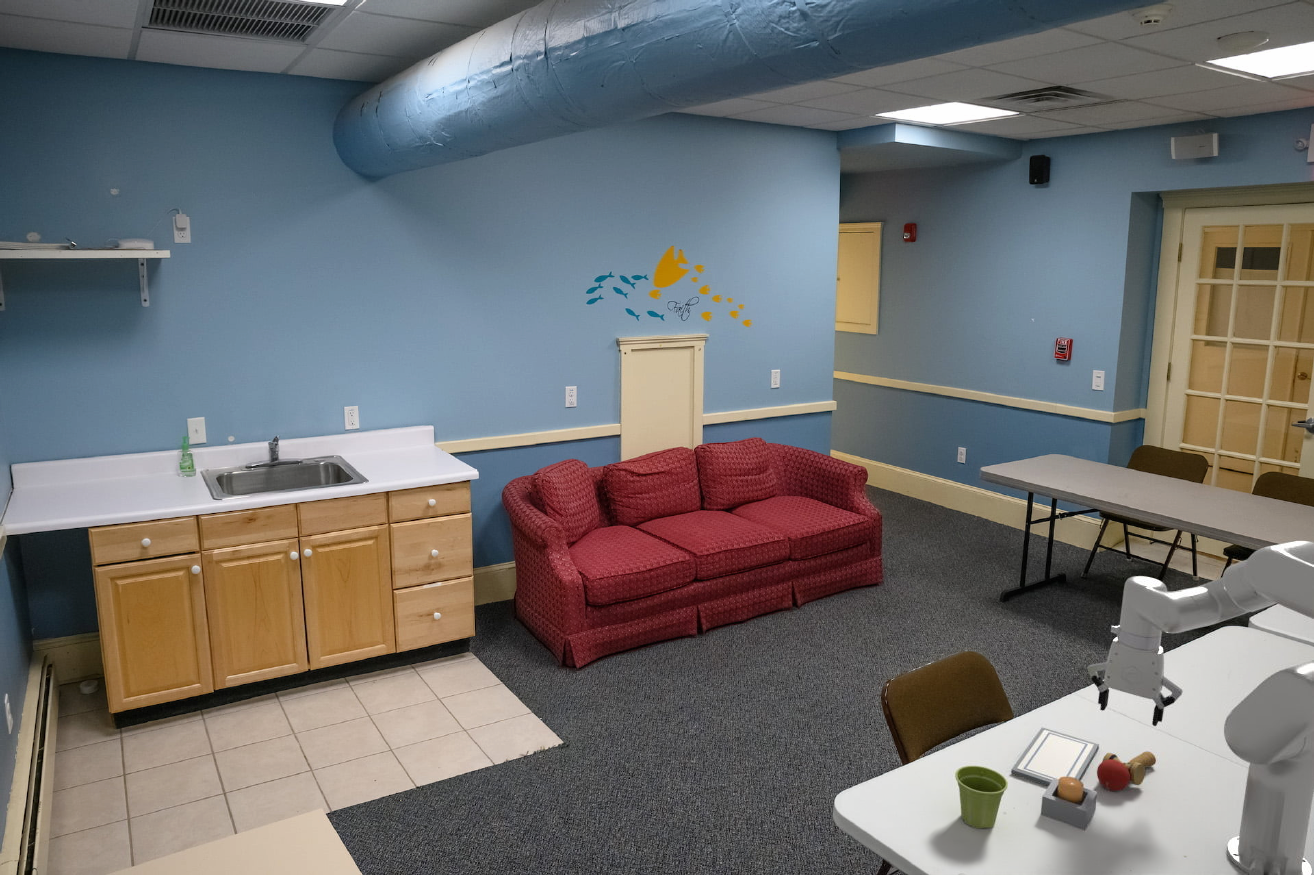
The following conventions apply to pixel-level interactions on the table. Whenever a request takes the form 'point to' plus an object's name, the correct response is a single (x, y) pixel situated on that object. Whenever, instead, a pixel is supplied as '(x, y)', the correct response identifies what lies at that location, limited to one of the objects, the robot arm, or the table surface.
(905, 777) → the table surface
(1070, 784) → the button
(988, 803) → the plant pot
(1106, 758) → the kendama
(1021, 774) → the picture frame
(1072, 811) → the button housing
